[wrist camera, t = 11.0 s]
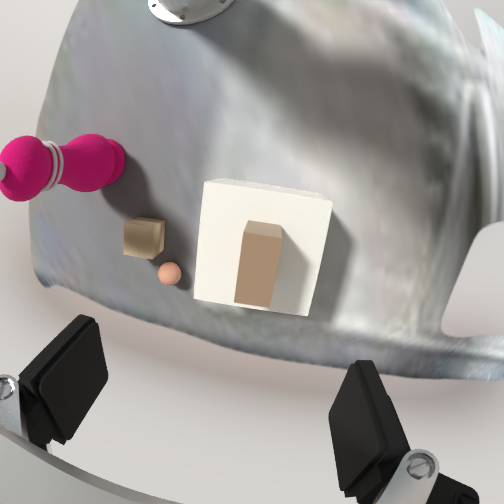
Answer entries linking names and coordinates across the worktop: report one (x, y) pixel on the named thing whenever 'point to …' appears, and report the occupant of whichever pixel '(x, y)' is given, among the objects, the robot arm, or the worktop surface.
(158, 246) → the pine cube
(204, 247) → the cover
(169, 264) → the terracotta ball
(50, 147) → the pepper mill
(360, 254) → the worktop surface
